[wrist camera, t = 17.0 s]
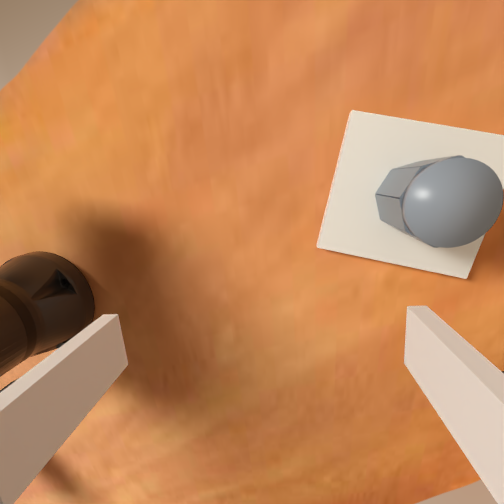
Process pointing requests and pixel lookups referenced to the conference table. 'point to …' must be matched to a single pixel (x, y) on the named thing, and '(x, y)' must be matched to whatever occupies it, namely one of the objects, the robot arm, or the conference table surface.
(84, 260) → the conference table surface
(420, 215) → the cap
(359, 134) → the stud board
